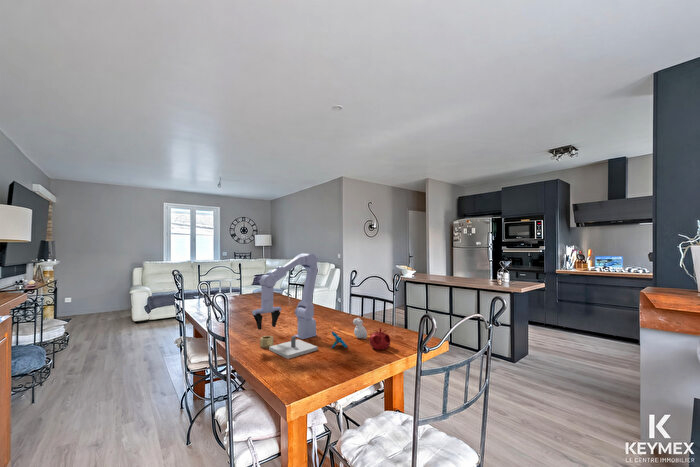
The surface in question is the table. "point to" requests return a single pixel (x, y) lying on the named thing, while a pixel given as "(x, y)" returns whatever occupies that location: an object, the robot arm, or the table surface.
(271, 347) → the grey peg base
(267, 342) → the ring
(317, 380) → the table surface
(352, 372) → the table surface
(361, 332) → the white animal figurine
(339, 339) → the blue branched piece
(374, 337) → the pomegranate
